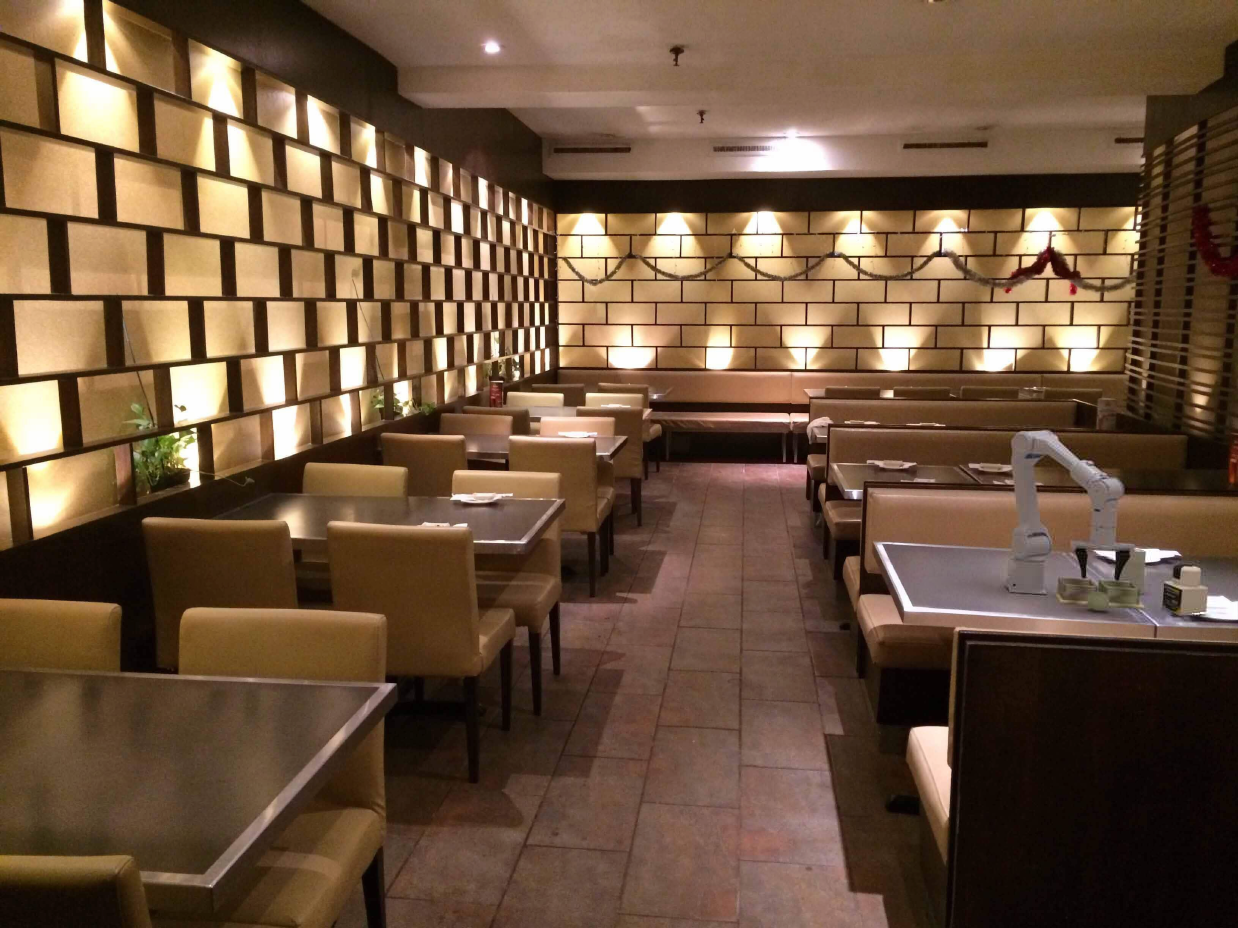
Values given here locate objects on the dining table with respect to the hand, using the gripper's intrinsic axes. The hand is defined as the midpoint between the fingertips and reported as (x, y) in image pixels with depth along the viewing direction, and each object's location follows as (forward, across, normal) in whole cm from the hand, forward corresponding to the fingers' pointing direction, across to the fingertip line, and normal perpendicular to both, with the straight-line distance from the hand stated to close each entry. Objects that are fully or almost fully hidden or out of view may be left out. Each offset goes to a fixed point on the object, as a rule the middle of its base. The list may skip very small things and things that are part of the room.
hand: (1100, 578), depth 246 cm
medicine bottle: (+9, +21, +5) cm, 23 cm away
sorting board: (+8, +2, +10) cm, 13 cm away
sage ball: (+6, 0, 0) cm, 6 cm away
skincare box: (+9, +12, +22) cm, 26 cm away
